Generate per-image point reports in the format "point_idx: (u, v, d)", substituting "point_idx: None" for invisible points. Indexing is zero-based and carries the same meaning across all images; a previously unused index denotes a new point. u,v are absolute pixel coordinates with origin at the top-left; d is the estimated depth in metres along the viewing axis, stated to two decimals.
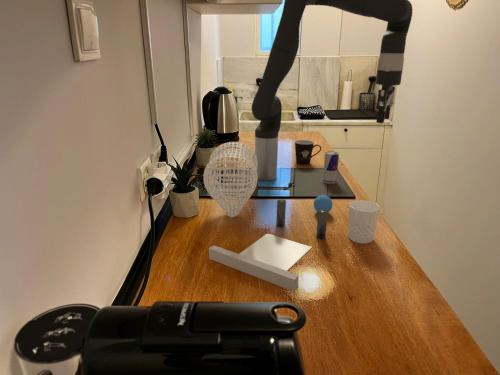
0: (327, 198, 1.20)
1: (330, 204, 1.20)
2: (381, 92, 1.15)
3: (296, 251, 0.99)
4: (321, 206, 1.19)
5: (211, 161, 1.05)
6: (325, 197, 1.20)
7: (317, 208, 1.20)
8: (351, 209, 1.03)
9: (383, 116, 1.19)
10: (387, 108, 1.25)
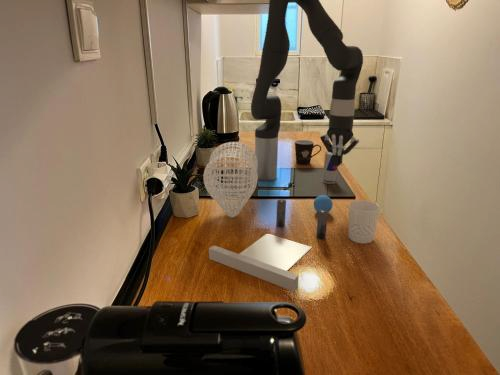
0: (327, 198, 1.20)
1: (330, 204, 1.20)
2: (356, 143, 1.19)
3: (296, 251, 0.99)
4: (321, 206, 1.19)
5: (211, 161, 1.05)
6: (325, 197, 1.20)
7: (317, 208, 1.20)
8: (351, 209, 1.03)
9: None
10: None
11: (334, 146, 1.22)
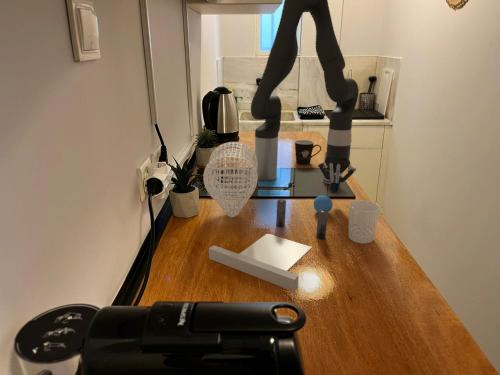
0: (327, 198, 1.20)
1: (330, 204, 1.20)
2: (353, 172, 1.22)
3: (296, 251, 0.99)
4: (321, 206, 1.19)
5: (211, 161, 1.05)
6: (325, 197, 1.20)
7: (317, 208, 1.20)
8: (351, 209, 1.03)
9: None
10: None
11: (332, 174, 1.25)
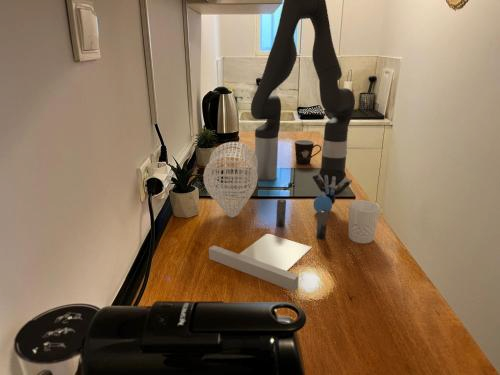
0: (327, 198, 1.20)
1: (330, 204, 1.20)
2: (349, 184, 1.19)
3: (296, 251, 0.99)
4: (321, 206, 1.19)
5: (211, 161, 1.05)
6: (325, 197, 1.20)
7: (317, 208, 1.20)
8: (351, 209, 1.03)
9: None
10: (330, 194, 1.24)
11: (327, 186, 1.22)
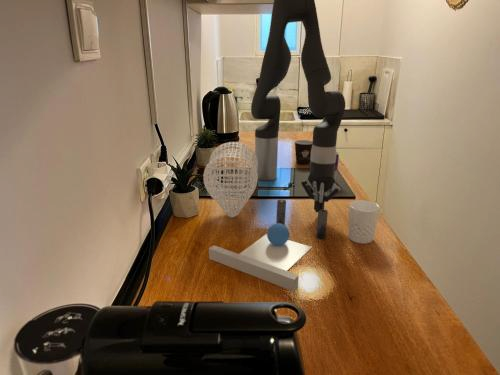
0: (279, 244, 1.00)
1: (286, 240, 1.01)
2: (338, 191, 1.14)
3: (296, 251, 0.99)
4: None
5: (211, 161, 1.05)
6: (276, 244, 1.01)
7: None
8: (351, 209, 1.03)
9: None
10: None
11: (315, 193, 1.17)
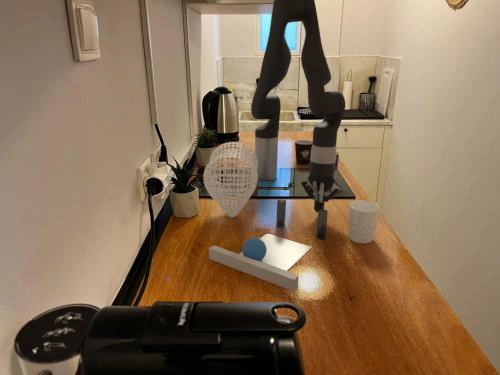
0: (262, 242, 0.93)
1: (263, 250, 0.92)
2: (338, 191, 1.14)
3: (296, 251, 0.99)
4: (251, 248, 0.91)
5: (211, 161, 1.05)
6: (260, 240, 0.93)
7: (245, 250, 0.92)
8: (351, 209, 1.03)
9: None
10: None
11: (315, 193, 1.17)
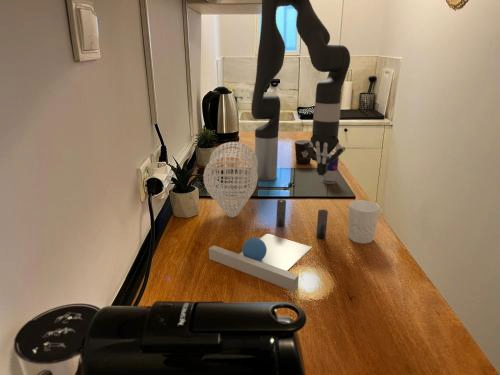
0: (262, 242, 0.93)
1: (263, 250, 0.92)
2: (342, 151, 1.10)
3: (296, 251, 0.99)
4: (251, 248, 0.91)
5: (211, 161, 1.05)
6: (260, 240, 0.93)
7: (245, 250, 0.92)
8: (351, 209, 1.03)
9: None
10: None
11: (318, 154, 1.13)
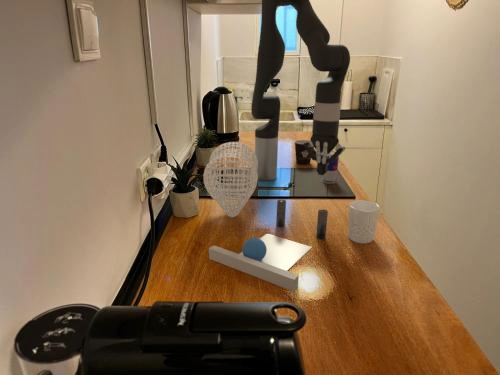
0: (262, 242, 0.93)
1: (263, 250, 0.92)
2: (342, 151, 1.10)
3: (296, 251, 0.99)
4: (251, 248, 0.91)
5: (211, 161, 1.05)
6: (260, 240, 0.93)
7: (245, 250, 0.92)
8: (351, 209, 1.03)
9: None
10: None
11: (318, 154, 1.13)
